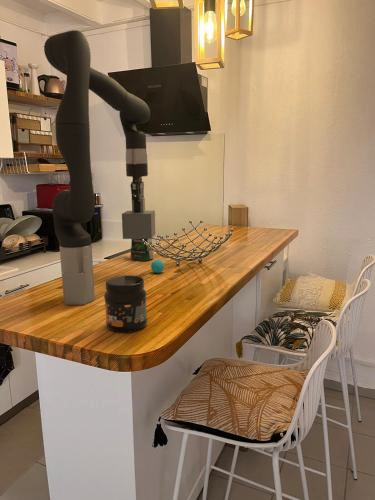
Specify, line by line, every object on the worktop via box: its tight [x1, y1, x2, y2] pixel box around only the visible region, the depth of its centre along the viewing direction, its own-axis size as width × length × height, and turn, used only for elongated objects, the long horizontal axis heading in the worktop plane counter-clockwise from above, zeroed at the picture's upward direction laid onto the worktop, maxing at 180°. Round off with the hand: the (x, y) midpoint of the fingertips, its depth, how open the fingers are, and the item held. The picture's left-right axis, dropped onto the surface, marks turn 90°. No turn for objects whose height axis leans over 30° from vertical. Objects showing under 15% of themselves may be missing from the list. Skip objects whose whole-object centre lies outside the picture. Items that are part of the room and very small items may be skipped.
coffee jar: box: [130, 238, 154, 262], centre depth 172 cm, size 10×8×19 cm
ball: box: [150, 259, 165, 274], centre depth 151 cm, size 5×5×5 cm
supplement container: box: [103, 275, 148, 333], centre depth 100 cm, size 10×10×12 cm
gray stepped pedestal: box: [121, 197, 156, 240], centre depth 142 cm, size 10×10×14 cm
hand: (138, 211), depth 141 cm, fingers closed on gray stepped pedestal, 4 cm apart
